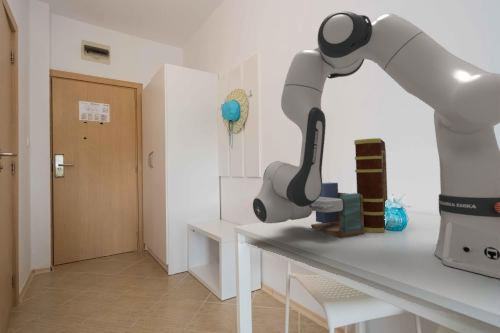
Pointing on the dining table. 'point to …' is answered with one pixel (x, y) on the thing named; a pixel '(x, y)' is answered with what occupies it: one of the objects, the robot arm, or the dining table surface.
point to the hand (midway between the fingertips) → (328, 200)
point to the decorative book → (372, 182)
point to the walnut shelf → (346, 218)
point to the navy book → (330, 192)
